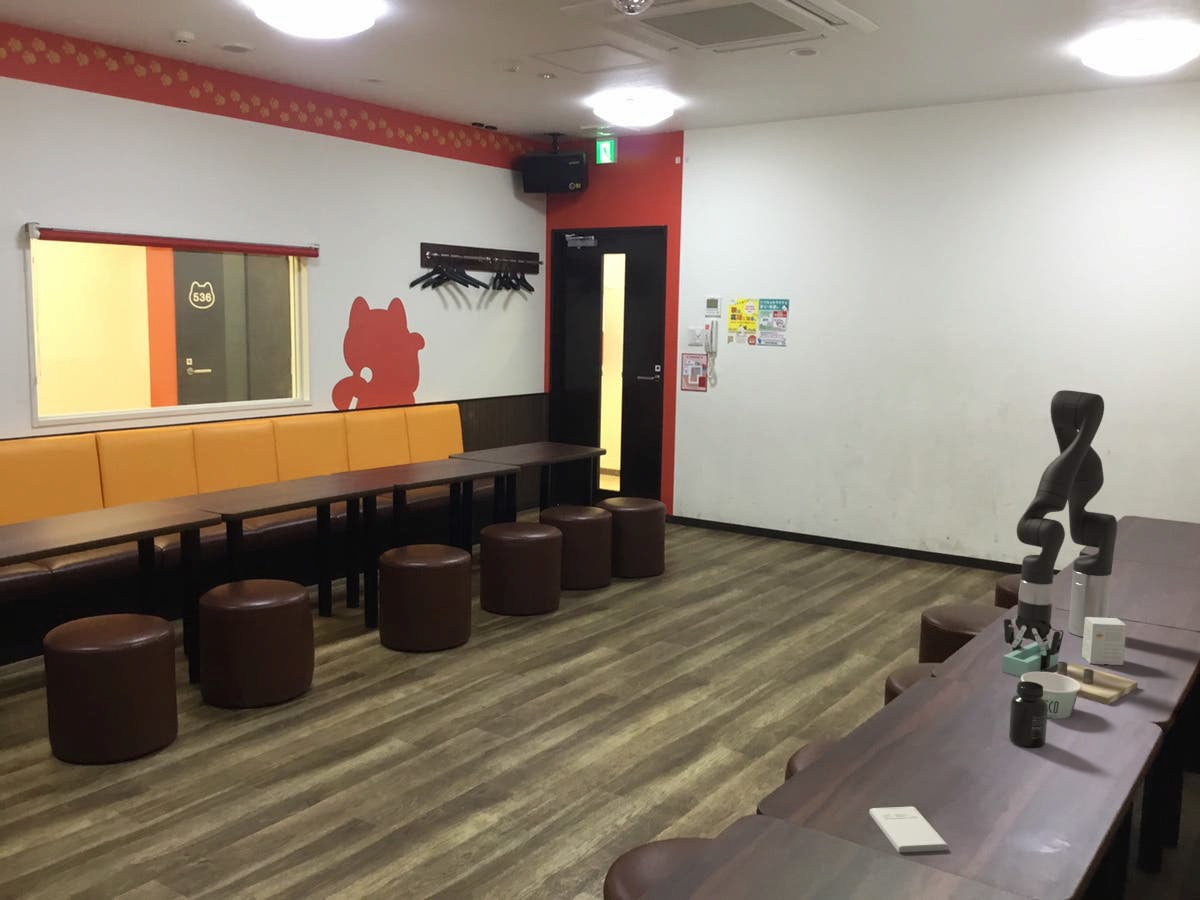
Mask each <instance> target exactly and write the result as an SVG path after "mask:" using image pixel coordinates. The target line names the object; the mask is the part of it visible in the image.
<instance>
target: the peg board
mask: <svg viewBox="0 0 1200 900" xmlns="http://www.w3.org/2000/svg"><path fill="white" fill-rule="evenodd" d="M1053 673H1056V674H1060V675H1064V676H1067V677H1070V678H1072V679H1074V680H1076V681H1077V682H1079V683H1080V684H1081V690H1079V691H1078V695H1077V697H1079V698H1080V697H1081V698H1084V699H1086V700H1087V699H1088V700H1089V701H1093V700H1094V702H1095V703H1096V702H1098V703H1100V704H1104V705H1106V706H1107V705H1110V704H1112V703H1113V702H1115V701H1117V700H1119V699H1121V698H1122V697H1124V696H1125V694H1126V695H1127V694H1129V693H1131V692H1133V691H1135V690H1136V689H1138V686H1139V685H1138V684H1139V681H1138V680H1133V679H1129V678H1127V677H1122V676H1118V675H1116V674H1112V673H1109V672H1108V673H1107V672H1104V671H1102V670H1097V669H1094V668H1090V667H1087V666H1083V665H1080V664H1075V663H1071V664H1069V665H1068V663H1067V662H1065V661H1058V664H1057V671H1055V672H1053ZM1132 690H1133V691H1132ZM1130 691H1131V692H1130Z"/></svg>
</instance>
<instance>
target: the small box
mask: <svg viewBox="0 0 1200 900" xmlns="http://www.w3.org/2000/svg"><path fill="white" fill-rule="evenodd" d="M1126 634H1127V624H1126V623H1124V622H1123V621H1122V620H1120V619H1119V618H1117V617H1108V618H1098V617H1085V623H1084V635H1083V637H1082V638H1083V639H1082V650H1081V651H1082V652H1081V657H1082V658H1083V657H1084V658H1085V659H1086V660H1085V661H1087V662H1088V663H1089V664H1090V663H1092V664H1091V665H1104V664H1108V665H1109V666H1124V660H1125V659H1124V657H1125V646H1126ZM1084 658H1083V659H1084ZM1108 665H1107V666H1108Z"/></svg>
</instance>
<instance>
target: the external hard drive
mask: <svg viewBox="0 0 1200 900" xmlns="http://www.w3.org/2000/svg"><path fill="white" fill-rule="evenodd" d="M869 815H870V816H871V817H872V819H873V820H874V823H876V824H877V826H878V827H879V828H880V830H881V831H882V832H883V834H884V835H885V836H886V838H887V839H888V840H889V842H890V843H891V844H892V845H893V847H894V848H895V850H896V851H897V852H898V853H911V852H912V853H914V852H915V853H916V852H933V851H948V844H947V842H946V841H945V840H944V839H943V838H942V837H941V836H940V834H939V833H938V832H937V831H936V830H935V828H934V827H932V825H931V824H930V823H929V822H928V821H927V820H926V819H925V817H924V816H923V815H922V814H921V813H920V812H919V810H918V809H917V808H916V807H915V806H897V807H895V806H894V807H892V806H891V807H875V808H874V807H873V808H870V809H869Z"/></svg>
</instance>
